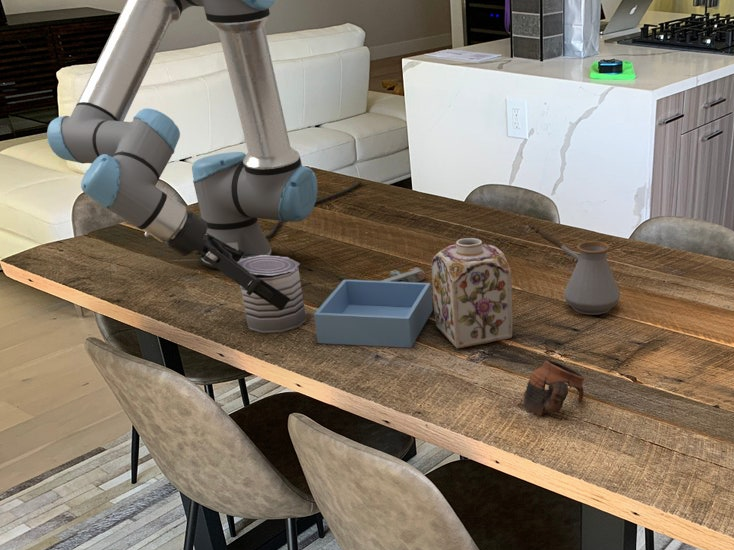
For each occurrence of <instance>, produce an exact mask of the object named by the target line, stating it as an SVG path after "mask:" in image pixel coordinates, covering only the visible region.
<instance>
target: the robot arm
mask: <svg viewBox="0 0 734 550" xmlns="http://www.w3.org/2000/svg"><path fill="white" fill-rule="evenodd" d="M275 2H276V0H126V2H125V3H124V6H123V8H122V10H121V12H120V14H119V16H118V18H117V20H116V23H115V24H114V26H113V29H112V31H111V32H110V35H109V37H108V39H107V41H106V43H105V45H104V47H103V49H102V50H101V53H100V55H99V57H98V59H97V61H96V63H95V65H94V67H93V69H92V71H91V73H90V75H89V77H88V80H87V82H86V84H85V86H84V87H83V90H82V91H81V94H80V95H79V98H78V100H77V102H76V105H75V106H74V108H73V110H72V112H71V114H70V115H63V116H58V117H55V118H54V119H53V120H51V121H50V123H49V124H48V126H47V131H46V132H47V133H46V138H47V142H48V145H49V147H50V149H51V151H52V152H53V153H54V154H55V155H56V156H57V157H58V158H60V159H61V160H65V161H69V162H74V163H79V164H90V165H89V167H88V169H87V170H86V171H85V173H84V175H83V176H82V179H81V182H80V188H81V190H82V192H83V193H84V194H85V195H86V196H88V197H89V198H90V199H92V200H93V201H95V202H96V203H98V204H99V205H100V206H101V207H102V208H104V209H107V210H108V211H110V212H112V213H113V214H116V215H117V216H118V217H120V218H122V219H123V220H125V221H127V222H128V223H130V224H131V225H133V226H134V227H137V229H139V230H141V231H142V232H144V236H145V238H147V239H148V238H150V237H151V236H152V237H153V238H154V239H155V240H157V241H158V242H160V243H164V244H165V246H166V247H167V248H169V249H170V250H172V251H173V252H175V253H177V254H178V255H180V256H182V257H186V256H189V255H191V254H192V252H194V251H197V253H198V254H199V255H200V256H199V257H200V260H201V264H202V265H203V266H204V267H206V268H208V269H212V270H219V271H220V272H221V273H223V274H224V275H225V276H227V277H228V278H229V279H231V280H232V281H233V282H235V283H236V284H237V285H239V287H240V286H242V287H243V288H244V289H246V290H247V292H246V293H247V294H248V295H251V294H252V293H255V294H256V295H258V296H259V297H261V298H262V299H264V300H266V301H267V302H269V303H270V304H272V305H273V306H275V307H276V308H278V309H280V310H281V311H282V310H283V308H284V307H285V306H286V304H287V303H288V302H289V300H290V298H289V297H287V296H286V295H284V294H283V293H281V292H280V291H278V290H277V289H275V288H273V287H272V286H270V285H269V284H267V283H266V282H264V281H263V280H261V279H258V278H256V277H255V276H254V275H252V274H251V273H250V272H249V271H247V270H246V269H245V268H244V267H242V266H241V265H240V264H239V263H237V262H238V261H239V260H240V259H242V258H248V257H254V256H260V255H269V256H273V253H272V247H271V245H270V242H269V241H268V239H270V238H271V237H272V236H273V235H274V233H275V231H276V230H277V229H278V227H279V226H280V225H281V223H287V222H295V223H296V222H297V223H298V222H302V221H304V220H306V219H307V218H308V217H309V216H310V214H311V213H312V212H313V210H314V209H315V205H316V204H319V203H321V202H325V201H327V200H330V199H332V198H335V197H338V196H340V195H344V194H346V193H349V192H350V191H352V190H354V189H356V188H357V187H359V186H360V185H362V181H359V182H357V183H355V184H353V185H352V186H349V187H348V188H346V189H343V190H341V191H338V192H336V193H333V194H331V195H328V196H325V197H322V198H319V199H318V190H319V189H318V187H319V186H318V179H317V176H316V173H315V172H314V171H313V170H312V168H310V167H308V166H306V165H303V164H302V159H301V154H300V153H299V151H298V150H296V149H294V148H293V147H291V143H290V138H289V134H288V129H287V124H286V121H285V116H284V111H283V105H282V102H281V97H280V91H279V88H278V83H277V79H276V74H275V68H274V65H273V61H272V55H271V51H270V46H269V42H268V37H267V36H268V35H267V32H266V28H265V24H266V23H267V21H268V20H269V18H270V17H271V13H270V8H272V7H273V5H274V4H275ZM191 7H202V8H203V9H204V14H205V17H206V21H207V23H209V24H210V25H211V26H212V27H214V28H215V29H216V30H217V31H218V35H219V39H220V43H221V47H222V52H223V56H224V59H225V63H226V67H227V72H228V76H229V79H230V84H231V88H232V93H233V96H234V100H235V104H236V108H237V113H238V116H239V120H240V125H241V129H242V133H243V137H244V141H245V144H246V145H245V146H246V149H247V153H245V152H243V151H229V152H223V153H216V154H213V155H212V154H211V155H208V156H204V157H201V158H199V159H197V160H195V161H194V162H193V163H192V166H191V172H192V178H193V179H192V183H193V186H194V192H195V196H196V200H197V204H198V208H199V213H200V216H199V215H198V214H197V213H195V212H194V211H192V210H187V207H186V206H185V205H184V204H183V203H181V202H179V201H178V200H176V199H175V198H173V197H172V196H170V195H169V194H167V193H165V192H164V191H162V190H161V189H160V188H159V187H157V186H156V185H157V183H158V181H160V178H161V176H162V174H163V173H164V171H165V169H166V167H167V165H168V163H169V161H170V160H171V158H172V156H173V155H174V153H175V150H176V147H177V145H178V142H179V140H180V137H181V132H180V129H179V126H178V125H177V124H176V123H175V122H174V120H173V119H172V118H171V117H170V116H168V115H166V114H165V113H163V112H161V111H160V110H157V109H153V108H149V107H148V108H147V107H145V108H142V109H141V110H139V111H138V112H137V113H136V114H135V115H134V116H133V117H132V119H133V120H132V121H125V120H126V117H127V115H128V113H129V111H130V109H131V107H132V104H133V102H134V101H135V99H136V98H135V97H136V96H137V94H138V92H139V89H140V87H141V86H142V83H143V82H144V80H145V77H146V75H147V73H148V71H149V68H150V67H151V64H152V62H153V60H154V58H155V56H156V54H157V51H158V49H159V47H160V45H161V43H162V41H163V39H164V37H165V34H166V32H167V30H168V28H169V26H170V25H171V24H174V23H177V22H178V21H179V20H180V17H181V15H182V14H183V12H184V11H185V10H187V9H188V8H191ZM259 219H262V220H270V221H271V220H272V221H277V222H276V224H275V225H274V226H273V228H271V231H270V232H269V233H268V234H266V235H265V233H264V231H263V230H262V227H261V226H260V223H259ZM250 281H252V282H251V283H250ZM249 283H250V285H248V284H249Z"/></svg>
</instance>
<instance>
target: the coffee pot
mask: <svg viewBox="0 0 734 550" xmlns="http://www.w3.org/2000/svg"><path fill="white" fill-rule="evenodd" d="M528 228H529V229H528ZM527 229H528V230H527ZM530 230H533V231H534V233H535V234H539V236H541V237H542V238H543V239H544V240H545V241H547V242H549V243H551V244H552V245H554V246H555V247H557V248H559V250H560V249H561V250H562V251H564V252H565V253H566V254H568V255H569V256H571V257H572V258H574V259H575V260H577V263H576V265H575V266H574V269H573V270H572V273H571V275H570V278H569V280H568V282H567V284H566V287H565V289H564V291H563V297H564V301H565V302H566V303H567V304H568V306H570V308H572V310H573V311H574V312H577V313H579V314H583V315H589V316H590V315H591V316H594V315H603V314H606V313H608V312H609V311H611V309H612V308H614V307H615V306H616V305H617V304H618V303H619V301H620V299H621V292H620V289H619V286H618V284H617V282H616V279H615V276H614V274H613V271H612V269H611V267H610V263H609V261H608V259H607V254H608V251H609V250H610V245H609V244H607V243H606V242H603V241H595V240H592V241H583V242H580V243H578V244H577V245H576V249H577V251H578V253H579V254H577V253H576V252H575V251H573V250H571V249H570V248H569V247H566V246H565V245H564V244H563V243H562V242H560V241H559V240H557V239H556V238H554V237H553V236H552V235H551V234H549V233H548V232H545V231H543V230H541V228H540V227H536V225H534V224H532V223H530V222H529V223H527V225H526V227H525V228H524V233H528V232H529V231H530Z"/></svg>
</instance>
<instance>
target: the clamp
mask: <svg viewBox="0 0 734 550" xmlns="http://www.w3.org/2000/svg"><path fill="white" fill-rule="evenodd" d="M408 270H409V271H407V272H403V273H402V272H401V271H399V270H396V269H394V270H390V271H389V275H390V277H387V278H385V279H381V280H380V281H391V282H398V281H400V280H402V281H401V282H414V283H419V282H421V281H424V279H425V271H424V270H423V269H421V268H420V267H416V266H415V267H414V268H409V269H408Z"/></svg>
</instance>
